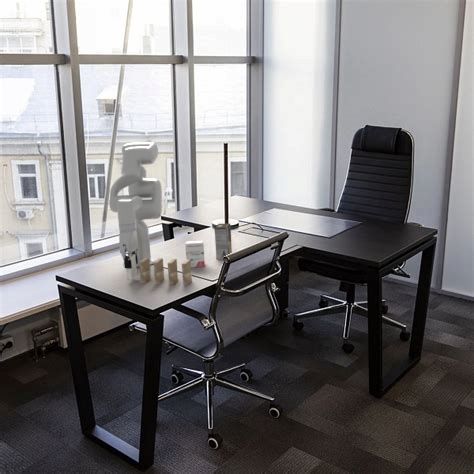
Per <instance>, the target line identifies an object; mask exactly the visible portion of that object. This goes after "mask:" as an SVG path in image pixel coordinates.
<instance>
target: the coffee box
mask: <svg viewBox="0 0 474 474" xmlns="http://www.w3.org/2000/svg"><path fill="white" fill-rule="evenodd" d="M231 229H232V228H231V223H217V225H216V226H215V227H214V242H215V257H216V258H215V259H216V260H223V259H222V258H223V257H224V256H226V255H228V254H230V253H232V254H233V250H232V247H233V245H232V233H231V231H232V230H231Z"/></svg>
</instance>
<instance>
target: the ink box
mask: <svg viewBox="0 0 474 474" xmlns="http://www.w3.org/2000/svg"><path fill="white" fill-rule="evenodd" d="M184 244H185V257H186V258H185V260H186V259H191V268H198V267H201V268H202V267H205V265H206V263H205V262H206V261H205V249H204V247H205V245H204V241H203V240H191V241H189V240H188V241H185V243H184Z"/></svg>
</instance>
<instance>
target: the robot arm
mask: <svg viewBox="0 0 474 474" xmlns="http://www.w3.org/2000/svg"><path fill="white" fill-rule="evenodd" d="M121 153H122V162H121V175H120V176H119V177H118V178H117V179H116V180H115V181H114V183H113V184H112V186H111V188H110V192H109V208H110V211H112V212H113V213H117V217H118V218H117V221H118V231H119V233H118V236H119V237H118V242H119V243H118V245H119V253H120V255H121V257H122V259H123V264H124V265H123V267H124V269H126V270H127V269H131V268H132V264H131V260H130V255H131V254H135V258H136V268H140V261H142V260H143V259H144V258H149V262H150V266H151V265H154V262H155V259H154V258H152V256H151V244H150V234H149V227H148V225H147V223H146V222H145V221H144V220H157V219H159V218H161V216H162V208H163V204H162V201H163V200H162V195H163V194H162V191H163V189H162V185H161V182H160V180H159V179H158V178H147V170H146V169H145V166H144V165H152V164H154V163H155V162H156V160H157V159H158V156H159V155H158V154H159V147H158V145H157V144H156V142H152V141H150V142H148V141H146V142H143V141H142V142H129V143H128V142H127V143H126V144H123V145H122V147H121ZM127 187H128V188H127ZM125 188H127V189H128V190H127V191H128V194H127V195H125V194H124V195H119V193H120V192H121V191H122V190H124V189H125Z"/></svg>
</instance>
